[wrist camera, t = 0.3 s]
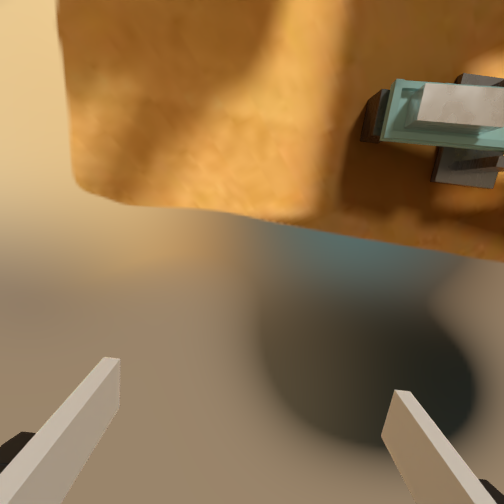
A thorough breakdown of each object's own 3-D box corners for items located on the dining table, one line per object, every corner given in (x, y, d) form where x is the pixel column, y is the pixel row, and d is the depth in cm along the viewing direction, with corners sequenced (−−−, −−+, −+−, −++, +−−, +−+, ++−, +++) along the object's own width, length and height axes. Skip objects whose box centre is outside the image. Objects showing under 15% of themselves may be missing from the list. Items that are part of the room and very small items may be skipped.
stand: (374, 65, 34) (405, 34, 27) (599, 95, 34) (683, 72, 28) (353, 171, 37) (376, 167, 30) (561, 198, 37) (628, 199, 31)
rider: (410, 95, 30) (425, 83, 26) (489, 101, 29) (515, 89, 25) (403, 128, 31) (416, 120, 27) (479, 135, 30) (503, 127, 26)
